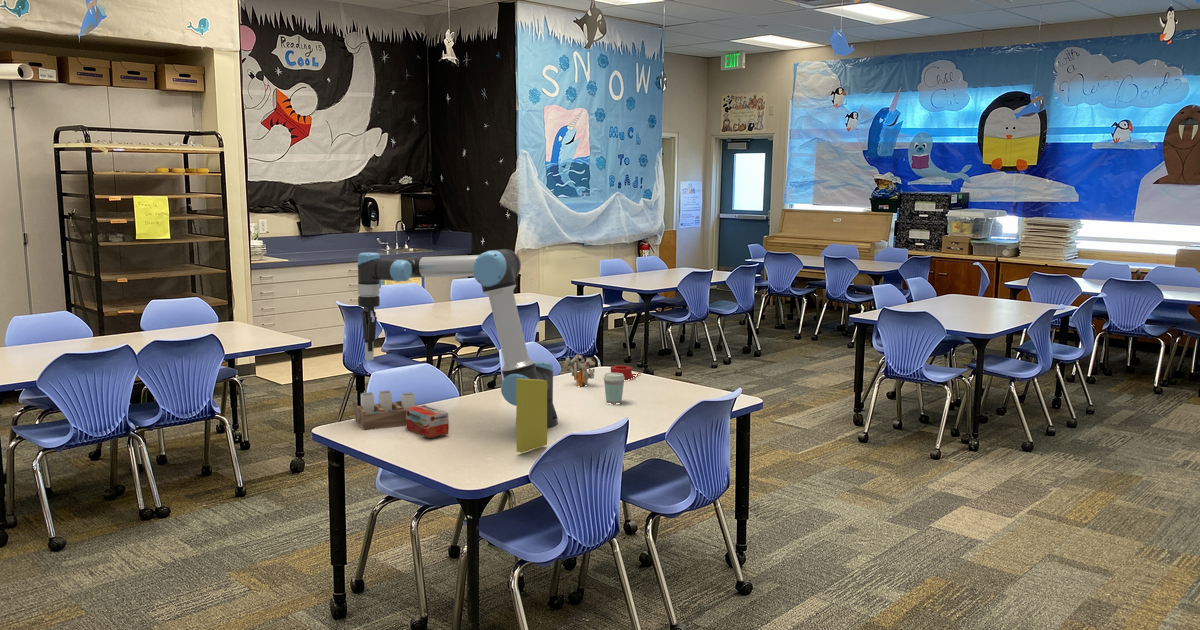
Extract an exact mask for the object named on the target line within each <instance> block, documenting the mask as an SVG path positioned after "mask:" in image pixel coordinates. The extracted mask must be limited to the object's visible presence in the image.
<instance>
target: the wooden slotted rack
mask: <svg viewBox="0 0 1200 630" xmlns="http://www.w3.org/2000/svg"><path fill="white" fill-rule="evenodd" d="M415 406H419V405H418V404H417V403H415ZM354 410H355V412H354V413H355V422H356V423H357V424H358V425H359V426H360V427H361V428H362V429H363V430H364V431H370V430H378V429H387V428H388V429H389V428H397V427H403V426H405V427H406V409H403V408H402V405H401V400H398V401H397V400H396V401H394V402H393V401H392V410H388V411H385V410H384V409H383V408H382V407H381V406H379V403H374V412H370V413H366V411H365V410H363V409H362V408H361V405H356V406H355V408H354Z"/></svg>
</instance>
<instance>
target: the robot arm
mask: <svg viewBox="0 0 1200 630" xmlns="http://www.w3.org/2000/svg"><path fill="white" fill-rule="evenodd" d="M521 267H522V264H521V260H520V257H519V255H517V253H516V252H514V251H513V250H511V249H506V248H501V249H494V250H493V249H492V250H487V251H485V252H482V253H480V254H474V255H470V254H469V255H444V256H443V255H442V256H410V257H406V258H405V257H404V258H394V259H391V258H390V259H385V258H384V259H383V258H381V256H380V253H378V252H360V253H359V254H358V255H357V282H358V283H357V295H358V297H357V302H358V303H357V304H358V307H361V308H363V311H362V312H361V313H360V314H361V318H362V319H361V320H362V322H361V323H362V332H363V333H362V335H363V337H362V338H363V339H364V357H365V358H364V359H365V361H374V359H375V355H374V354H375V352H374V351H375V350H374V344H375V343H374V342H376V332H377V331H376V330H377V328H376V327H377V319H378V317H377V316H376V315H377V314H376V311H375V308H377V307H380V305H381V304H380V303H381V302H380V301H381V299H380V296H379V295H380V289H381V288H382V286H381V285H380V282H381V281H392V282H393V281H394V282H407V281H409V280H410V279H412V278H414V279H415V278H446V277H447V278H448V277H449V278H451V277H474V279H475V281H476V282H477V283H478V284H480V286H481V289H482V293H483V294H484V295H485V296H487V297H488V299H489V303H490V304H489V305H490V308H491V312H492V316H493V321H494V325H495V329H496V332H497V337H498V342H499V346H500V349H501V354H502V359H503V362H504V363H503V366H502V369H501V373H502V374H501V375H502V378H503V380H502V382H501V385H500V392H501V395H502V397H503V399H504V400H505V401H506V402H508V403H509V404H510V405H512V406H515V407H516V378H519V379H537V380H546V381H547V429H548V428H552V427H556V426H558V422H559V421H558V419H559V418H558V414H557V411H556V408H555V406H554V368H553V364H552V363H551V362H550V361H542V360H531V359H530V358H529V353H528V349H527V344H526V341H525V336H524V332H523V328H522V324H521V323H522V322H521V319H520V315H519V311H518V305H517V302H516V299H515V293H514V290H515V288H516V287H517V282H516V278H517V277H518V276H519V274H520V273H521V270H522V269H521ZM515 425H516V426H517V423H516V422H515Z"/></svg>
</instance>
